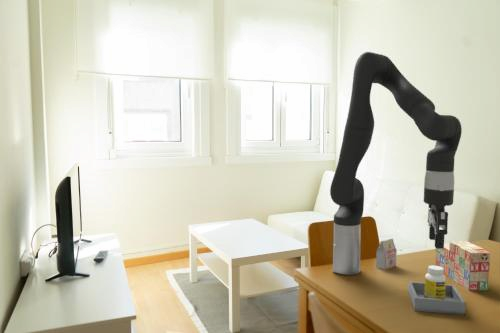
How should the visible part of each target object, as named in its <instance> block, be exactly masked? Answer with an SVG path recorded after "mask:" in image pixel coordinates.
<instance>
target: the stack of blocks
mask: <svg viewBox="0 0 500 333" xmlns="http://www.w3.org/2000/svg"><path fill="white" fill-rule="evenodd" d="M490 259H491V252H489V251H488V250H485V249H484V248H483V247H481V246H479V245H476V244H474V243H472V242H469V241H467V240H465V241H449V242H444V248H443V249H441V248H435V266H440V267H442V268H444V273H443V275H446V276H447V277H449V278H450V279H452V280H453V281H455V282H456V283H458V285H460V286H462V287H463V288H464V289H466V290H467V291H488V290H489V279H490V278H489V277H490V267H491V266H490V261H491V260H490Z"/></svg>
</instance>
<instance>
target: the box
mask: <svg viewBox="0 0 500 333" xmlns="http://www.w3.org/2000/svg"><path fill="white" fill-rule="evenodd" d="M407 292H408V297H409V298H410V302H411V305H412V307H413V310H414V311H419V312H426V313H427V312H428V313H439V314H447V315H449V314H450V315H458V316H466V301H465V300H464V298H463V297H462V295H461V294H460V292H459V291H458V288H457V287H456V285H455V284H447V283H446V291H445V300H444V299H433V298H424V294H425V282H422V281H421V282H420V281H410V280H409V281H408V290H407Z"/></svg>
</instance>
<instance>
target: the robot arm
mask: <svg viewBox="0 0 500 333" xmlns="http://www.w3.org/2000/svg"><path fill="white" fill-rule="evenodd" d="M373 84H379V85H381V86H382V87H384V88H385V89H387V90H388V91H389V92H390V93H391V94H392V95H393V98H394V100H395V102H396V104H397V105H398V106H399V108H400V109H401V110H402V111H403V112H404V113H405V114H406V115H407V116H408V117H410V118H411V119H412V120H413V122H414V124H415V126H416V127H417V128H418V130H419V131H420V133H421V135H423V136H424V137H425V138H426V139H429V140H430V141H434V142H435V145H434V148H433V149H430V150H428V151H427V154H426V164H425V165H426V166H425V173H424V174H425V175H424V180H423V181H424V182H423V184H424V186H423V202H424V204H426V205H428V213H427V215H428V216H427V223H428V228H429V231H428V233H429V234H428V239H429V240H430V241H431V240H432V241H434V248H435V249H436V248H441V249H443V248H444V243H445V236H446V235H448V220H449V218H448V217H449V213H448V212H447V211H446V210H445V209H446V208H445V207H447V206H452V205H454V195H455V158H456V157H455V156H456V153H457V150H458V147H459V144H460V142H461V141H460V140H461V138H462V131H463V130H462V128H463V127H462V123H461V121H460V119H459V118H457V116H454V115H452V114H451V115H450V114H439V112H436V106H435V103H434V102H433V101H432V100H431V99H430V98H428V97H427V96H426V95H425V94H424V93H423V92H421V91H420V90H419V89H418V88H416V87H415V85H413V84H412V82H410V81H409V80H408V79H407V78H406V77H405V76H404V74H402V73H401V71H400V70H399V69H398V67H397V66H396V64H394V63H393V61H392V60H391V59H390V57H388V56H386V55H384V54H379V53H375V52H371V51H364V52H363V53H361V54H360V55H359V56H358V58H357V59H356V61H355V64H354V70H353V76H352V86H351V96H350V103H349V106H348V113H347V118H346V122H345V125H344V126H345V127H344V130H343V135H342V136H343V137H342V143H341V147H340V151H339V155H338V161H337V165H336V168H335V172H334V176H333V178H332V181H331V184H330V189H329V190H330V191H329V193H330V194H329V195H330V198H331V201H332V202H333V203H334V204H335V205H338V206H339V207H338V210H337V211H336V212H335V214H334V215H333V244H332V245H333V246H332V273H337V274H340V275H344V276H346V275H347V276H354V275H357V274H359V273H360V272H361V233H362V232H361V229H362V228H361V227H362V226H361V224H362V222H361V220H362V217H363V213H364V204H365V188H364V185H363V183H362V181H361V180H360V179H358V178H357V177H356V176H357V172H358V168H359V165H360V163H361V162H362V160H363V158H364V157H365V155H366V153H367V151H368V150H369V147H370V146H371V143H372V138H373V135H374V134H373V133H374V130H375V119H374V118H375V117H374V113H373V110H372V106H371V92H372V87H373ZM440 228H441V229H440Z"/></svg>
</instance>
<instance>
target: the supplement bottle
mask: <svg viewBox="0 0 500 333" xmlns="http://www.w3.org/2000/svg"><path fill="white" fill-rule="evenodd" d="M424 283H425V294H424V298H433V299H444V300H445V291H446V284H447V278H446V276H445V274H444V268H442V267H440V266H436V265H428V269H427V273H426V274H425V277H424Z"/></svg>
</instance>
